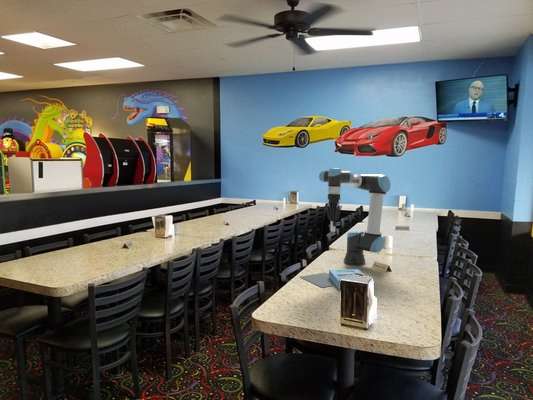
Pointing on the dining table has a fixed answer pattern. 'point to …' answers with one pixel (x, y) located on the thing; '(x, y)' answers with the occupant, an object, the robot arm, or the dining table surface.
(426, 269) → the dining table surface
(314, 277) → the mat
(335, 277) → the gum box
